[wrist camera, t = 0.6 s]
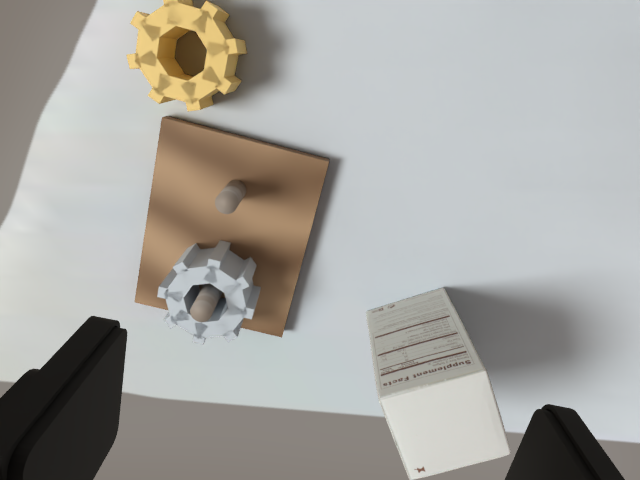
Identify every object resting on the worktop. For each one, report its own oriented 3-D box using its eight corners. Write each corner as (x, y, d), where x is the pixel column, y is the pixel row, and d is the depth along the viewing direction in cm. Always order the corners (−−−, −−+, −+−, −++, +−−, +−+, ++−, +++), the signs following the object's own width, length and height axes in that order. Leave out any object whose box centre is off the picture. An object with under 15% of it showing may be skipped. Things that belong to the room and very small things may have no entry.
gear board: (166, 116, 38) (134, 126, 32) (329, 159, 39) (328, 177, 33) (139, 295, 44) (107, 335, 37) (282, 330, 45) (275, 374, 38)
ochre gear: (156, -12, 35) (135, -20, 32) (254, 16, 36) (245, 11, 32) (142, 90, 38) (121, 93, 34) (234, 115, 38) (224, 121, 34)
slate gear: (165, 246, 41) (148, 265, 37) (251, 236, 40) (242, 254, 37) (185, 323, 43) (171, 348, 39) (266, 314, 43) (260, 338, 39)
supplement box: (466, 353, 45) (514, 458, 33) (387, 375, 46) (407, 485, 34) (445, 283, 43) (489, 369, 31) (363, 308, 44) (375, 400, 32)
